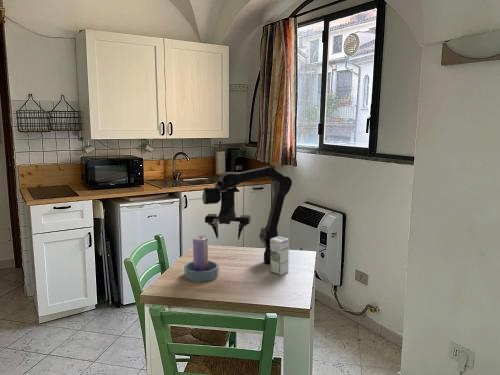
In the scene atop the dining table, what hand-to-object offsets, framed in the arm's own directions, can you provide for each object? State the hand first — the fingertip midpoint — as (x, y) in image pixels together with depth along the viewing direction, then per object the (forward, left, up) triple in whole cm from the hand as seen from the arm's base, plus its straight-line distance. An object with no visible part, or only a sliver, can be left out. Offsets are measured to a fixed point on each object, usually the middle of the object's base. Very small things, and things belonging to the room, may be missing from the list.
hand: (228, 238), depth 172 cm
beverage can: (+9, +10, -12) cm, 18 cm away
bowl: (+9, +10, -13) cm, 19 cm away
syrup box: (-22, +1, -13) cm, 26 cm away
